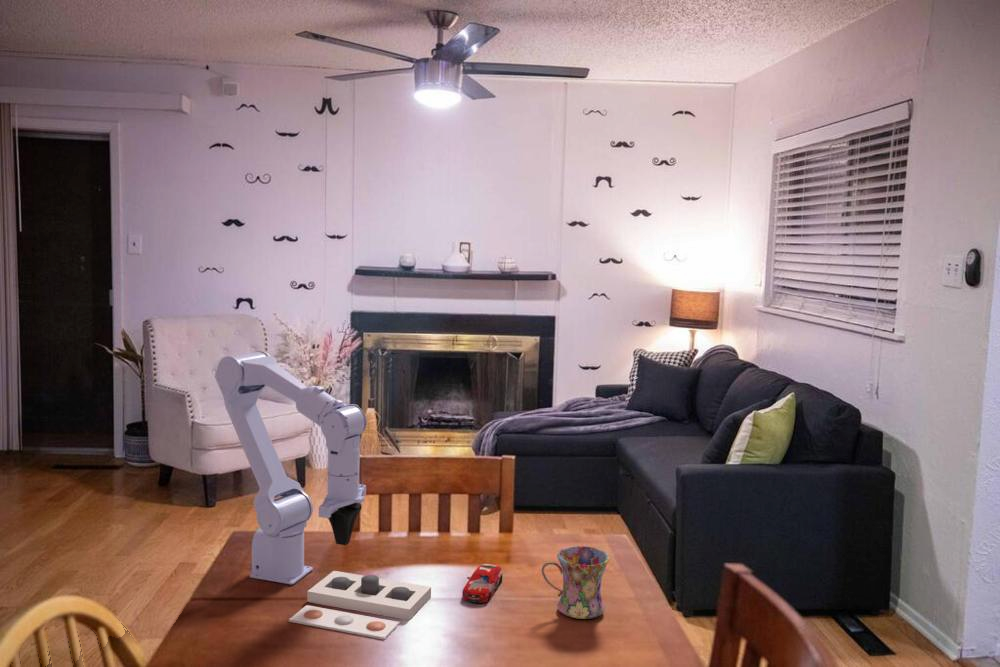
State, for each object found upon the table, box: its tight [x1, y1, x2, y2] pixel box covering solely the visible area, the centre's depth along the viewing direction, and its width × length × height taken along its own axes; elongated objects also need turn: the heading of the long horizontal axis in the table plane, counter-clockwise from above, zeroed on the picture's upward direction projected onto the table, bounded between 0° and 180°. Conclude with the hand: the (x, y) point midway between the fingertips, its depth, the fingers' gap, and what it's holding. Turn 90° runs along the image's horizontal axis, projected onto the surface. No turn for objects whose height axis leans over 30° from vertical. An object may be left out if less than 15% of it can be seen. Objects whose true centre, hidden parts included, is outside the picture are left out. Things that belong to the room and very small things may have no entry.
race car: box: [461, 563, 503, 603], centre depth 167 cm, size 13×5×4 cm, turn 163°
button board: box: [306, 570, 432, 621], centre depth 162 cm, size 20×10×2 cm, turn 73°
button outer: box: [391, 587, 409, 601], centre depth 160 cm, size 3×3×2 cm
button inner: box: [332, 577, 349, 591], centre depth 163 cm, size 3×3×2 cm
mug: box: [541, 545, 610, 620], centre depth 159 cm, size 12×9×11 cm
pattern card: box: [288, 604, 400, 641], centre depth 152 cm, size 18×6×1 cm, turn 73°
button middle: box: [361, 574, 380, 596], centre depth 161 cm, size 3×3×2 cm
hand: (342, 543), depth 163 cm, fingers closed
